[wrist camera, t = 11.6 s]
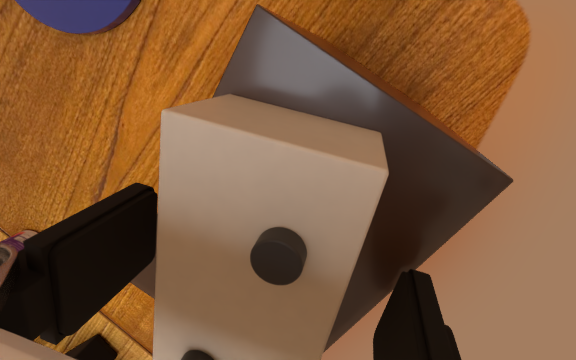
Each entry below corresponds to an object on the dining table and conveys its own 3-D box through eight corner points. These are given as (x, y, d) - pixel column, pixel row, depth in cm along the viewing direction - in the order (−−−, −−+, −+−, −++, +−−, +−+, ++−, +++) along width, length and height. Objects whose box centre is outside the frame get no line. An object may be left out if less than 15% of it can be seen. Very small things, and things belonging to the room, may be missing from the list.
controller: (228, 93, 10) (140, 112, 6) (382, 132, 9) (393, 182, 5) (201, 315, 14) (138, 411, 10) (307, 354, 13) (282, 474, 9)
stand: (324, 39, 22) (256, 2, 9) (425, 108, 22) (515, 181, 9) (243, 173, 28) (125, 279, 14) (325, 228, 28) (284, 388, 14)
